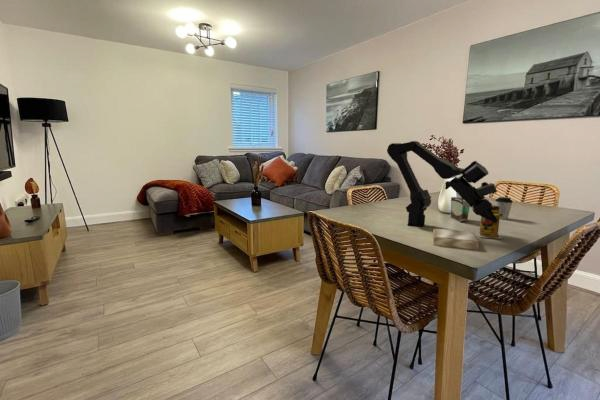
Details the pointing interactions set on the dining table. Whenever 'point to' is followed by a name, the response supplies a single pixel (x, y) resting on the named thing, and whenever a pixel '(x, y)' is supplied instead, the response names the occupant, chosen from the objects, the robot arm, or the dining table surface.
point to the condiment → (490, 225)
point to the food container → (459, 209)
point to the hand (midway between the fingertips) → (495, 219)
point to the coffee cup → (504, 207)
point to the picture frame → (455, 239)
